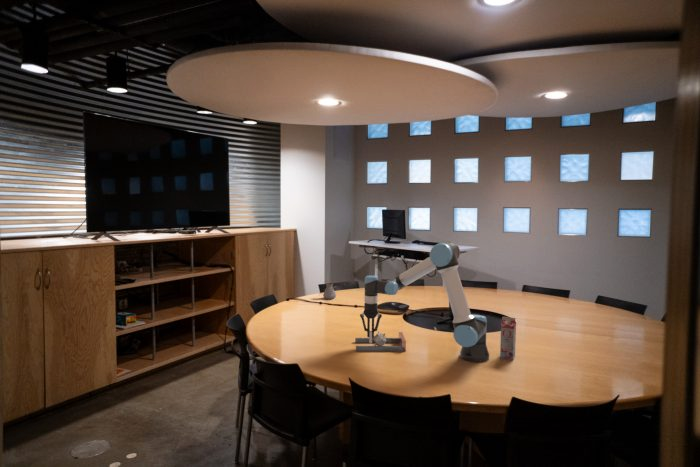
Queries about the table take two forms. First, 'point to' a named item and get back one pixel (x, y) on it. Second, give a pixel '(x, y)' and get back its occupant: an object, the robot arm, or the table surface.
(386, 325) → the table surface
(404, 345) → the guide channel
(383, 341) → the spiky grey ball
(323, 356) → the table surface
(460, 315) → the robot arm
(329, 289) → the coffee pot
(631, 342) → the table surface
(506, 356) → the juice carton
